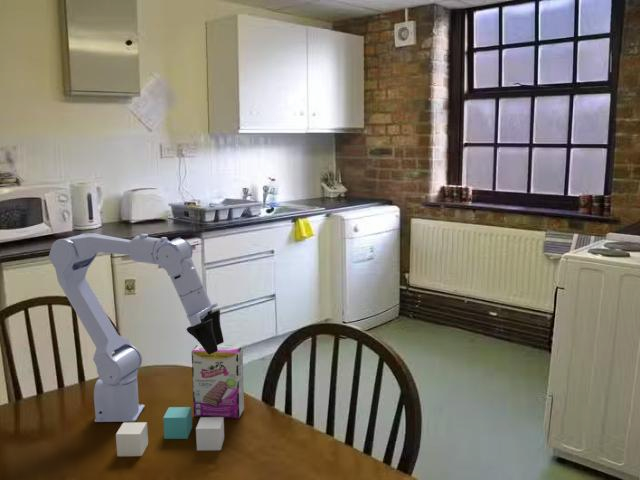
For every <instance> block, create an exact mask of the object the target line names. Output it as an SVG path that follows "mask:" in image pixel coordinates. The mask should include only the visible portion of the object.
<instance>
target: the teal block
mask: <svg viewBox="0 0 640 480" xmlns="http://www.w3.org/2000/svg"><path fill="white" fill-rule="evenodd" d="M192 415H193V414H192V407H191V406H179V407H178V406H172V407H171V406H170V407H169V406H168V408H167V410H166V412H165V414H164V416H163V417H162V418H163V419H162V420H163V434H164V435H163V436H164V437H163V438H164V439H165V440H167V439H168V440H170V439H171V440H174V439H175V440H176V439H187V440H188V439H189V436H190V434H191V431H192V429H193V420H192V419H193V418H192V417H193V416H192Z"/></svg>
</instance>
